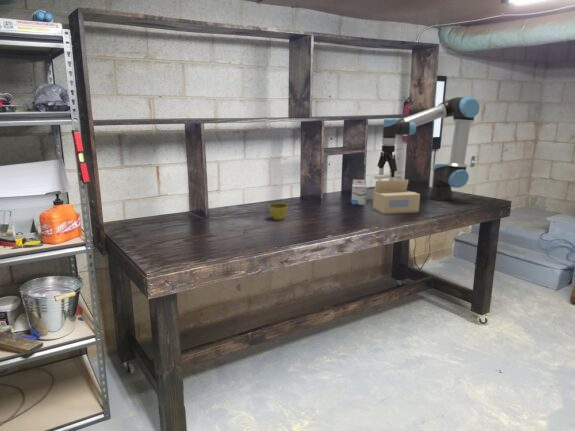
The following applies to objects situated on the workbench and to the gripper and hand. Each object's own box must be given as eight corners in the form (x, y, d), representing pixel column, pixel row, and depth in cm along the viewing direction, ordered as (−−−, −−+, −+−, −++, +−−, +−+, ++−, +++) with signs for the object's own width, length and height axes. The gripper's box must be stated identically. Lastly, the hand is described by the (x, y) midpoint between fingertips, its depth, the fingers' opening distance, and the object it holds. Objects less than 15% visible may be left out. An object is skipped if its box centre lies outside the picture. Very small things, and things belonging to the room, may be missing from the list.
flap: (406, 190, 264) (400, 185, 270) (408, 179, 260) (403, 173, 266) (374, 191, 258) (369, 186, 264) (376, 180, 255) (371, 174, 261)
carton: (406, 207, 266) (407, 189, 263) (418, 212, 253) (420, 194, 250) (372, 208, 260) (373, 191, 258) (383, 214, 247) (385, 195, 244)
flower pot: (268, 220, 231) (268, 207, 229) (269, 216, 240) (269, 203, 239) (287, 221, 231) (287, 207, 229) (287, 216, 240) (287, 203, 239)
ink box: (351, 204, 271) (352, 180, 267) (351, 202, 275) (352, 179, 272) (365, 205, 270) (367, 181, 266) (365, 203, 275) (366, 179, 271)
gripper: (373, 143, 271) (371, 177, 276) (392, 147, 248) (390, 184, 253) (384, 143, 273) (382, 177, 278) (404, 147, 250) (402, 184, 255)
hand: (386, 180), depth 266 cm, fingers open, 13 cm apart
